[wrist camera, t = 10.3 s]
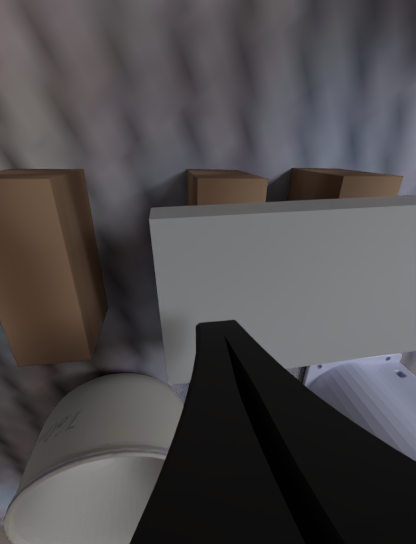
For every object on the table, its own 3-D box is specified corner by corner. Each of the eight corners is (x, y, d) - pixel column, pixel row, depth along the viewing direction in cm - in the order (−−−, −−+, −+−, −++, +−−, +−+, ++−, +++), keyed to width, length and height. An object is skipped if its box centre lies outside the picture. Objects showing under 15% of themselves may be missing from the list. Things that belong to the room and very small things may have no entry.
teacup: (67, 339, 19) (9, 459, 11) (207, 361, 22) (230, 466, 15) (44, 459, 24) (-6, 595, 16) (161, 463, 27) (162, 578, 20)
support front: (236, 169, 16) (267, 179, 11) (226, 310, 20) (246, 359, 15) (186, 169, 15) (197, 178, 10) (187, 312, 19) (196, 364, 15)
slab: (444, 193, 13) (490, 200, 11) (395, 326, 16) (424, 349, 14) (151, 207, 11) (148, 219, 9) (167, 355, 14) (168, 385, 12)
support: (83, 169, 14) (49, 179, 10) (108, 307, 18) (91, 359, 14) (13, 168, 14) (-57, 178, 9) (54, 311, 18) (18, 367, 13)
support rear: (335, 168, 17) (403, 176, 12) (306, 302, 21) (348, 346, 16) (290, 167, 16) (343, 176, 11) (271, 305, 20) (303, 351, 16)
